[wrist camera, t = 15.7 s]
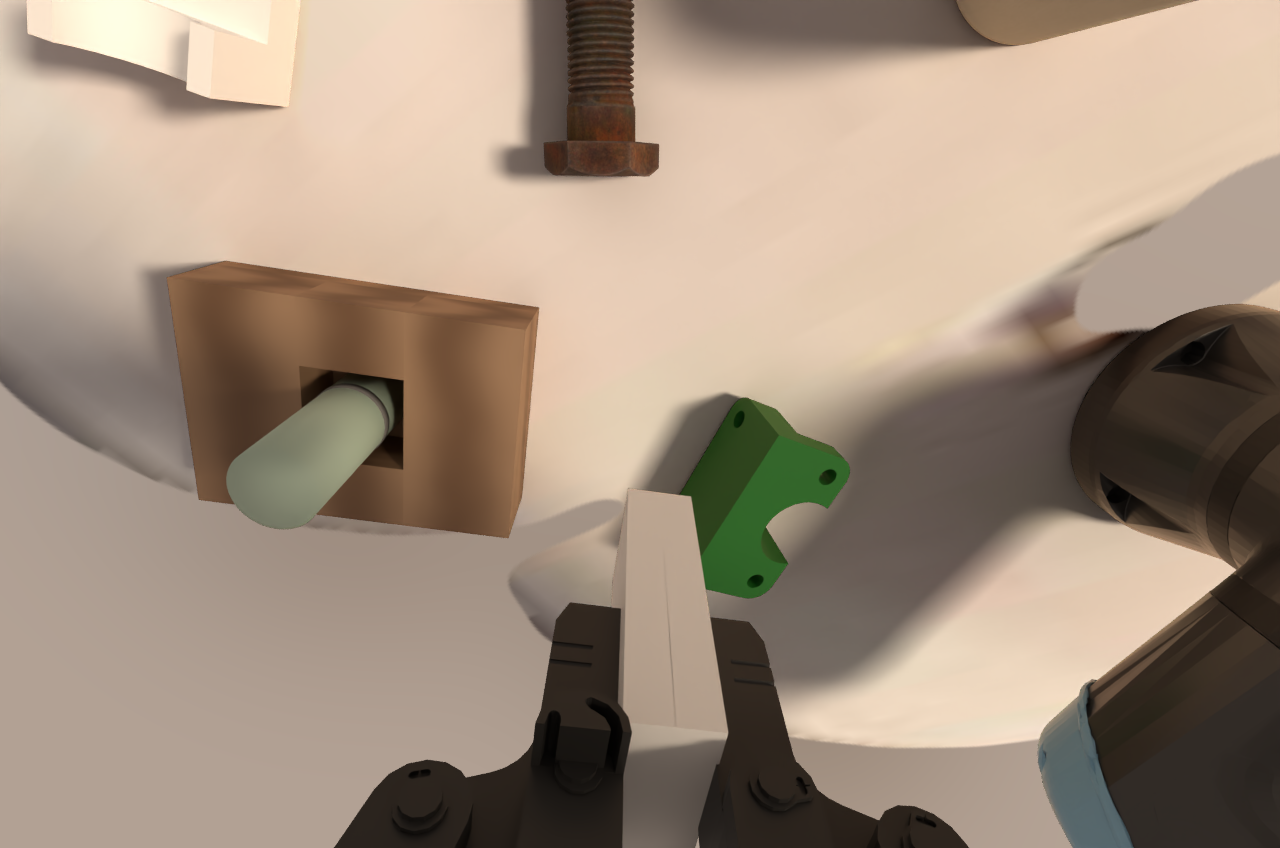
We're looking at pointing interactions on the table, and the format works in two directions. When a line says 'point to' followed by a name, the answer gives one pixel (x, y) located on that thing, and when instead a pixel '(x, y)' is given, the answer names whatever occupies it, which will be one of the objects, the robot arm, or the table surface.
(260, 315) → the board
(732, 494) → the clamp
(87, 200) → the table surface
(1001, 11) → the travel mug
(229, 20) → the bracket
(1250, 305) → the robot arm
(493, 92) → the table surface
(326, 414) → the peg
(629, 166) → the bolt
